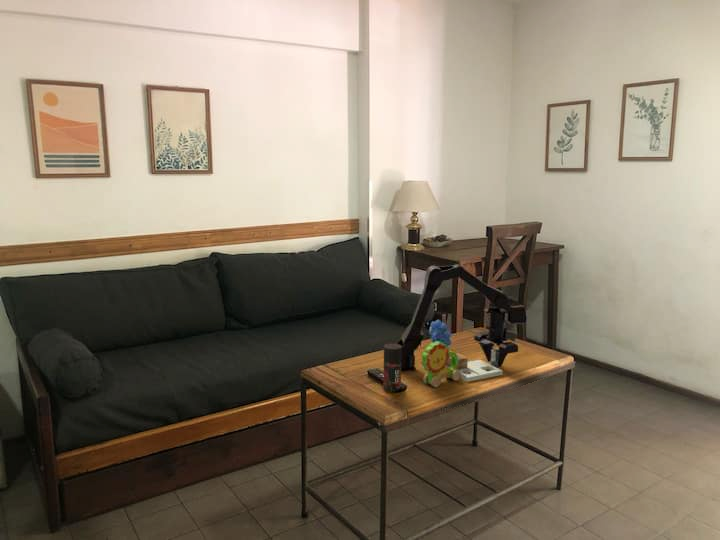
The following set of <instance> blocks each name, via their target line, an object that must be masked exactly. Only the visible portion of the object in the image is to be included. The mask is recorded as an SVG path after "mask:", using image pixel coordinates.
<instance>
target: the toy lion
mask: <svg viewBox="0 0 720 540" xmlns="http://www.w3.org/2000/svg"><path fill="white" fill-rule="evenodd" d="M456 353H457V352H454V351H452V350H450V348H449V346H448V347H447V345H446V344H443V343H441V342H438V341H435V342H434V343H433V342H431V343H430V344H428V346H427V347H425V349H424V351H423V353H422V355H421V359H422V360H421V365H422V366H423V369H424V371H425V372H427V373H426V374H424V376H423V380H422V381H423V382H424V383H425V384H426V385H429V384H430V385H431V386H432V387H434V388H438V387H440V385H441V380H442V379H445V378H447V379H452V380H453V381H455V382H458V381H459V380H461V379H460V377H461V373H460V371H458V357H457V355H456ZM450 357H451V359H452V362H451V367H447V366H446V362H447V360H448V359H449V358H450Z"/></svg>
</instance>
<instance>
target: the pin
mask: <svg viewBox="0 0 720 540" xmlns="http://www.w3.org/2000/svg"><path fill="white" fill-rule="evenodd" d="M496 350H499V348H497V347H493V348H492V349H491V361H490V363H489V364H490V365H492V366H494V367H496V368H498V369H500V367H499V366H498V362H497V356H496Z"/></svg>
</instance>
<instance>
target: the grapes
mask: <svg viewBox="0 0 720 540" xmlns="http://www.w3.org/2000/svg"><path fill="white" fill-rule="evenodd" d="M428 332H429V334H430V335H431V338H430V340H431V341H432V342H431V343H434V342H435V341H438V342H441V343H443V344H446V345H447V347H448V348H449V347H450V346H452V340H451V339H450V338H451V337H452V333H451V332H450V330H448V325H447V324H446V323H444V322H442V321H441V320H440V319H437V320H435V321H431V323H430V328H429V330H428Z"/></svg>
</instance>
